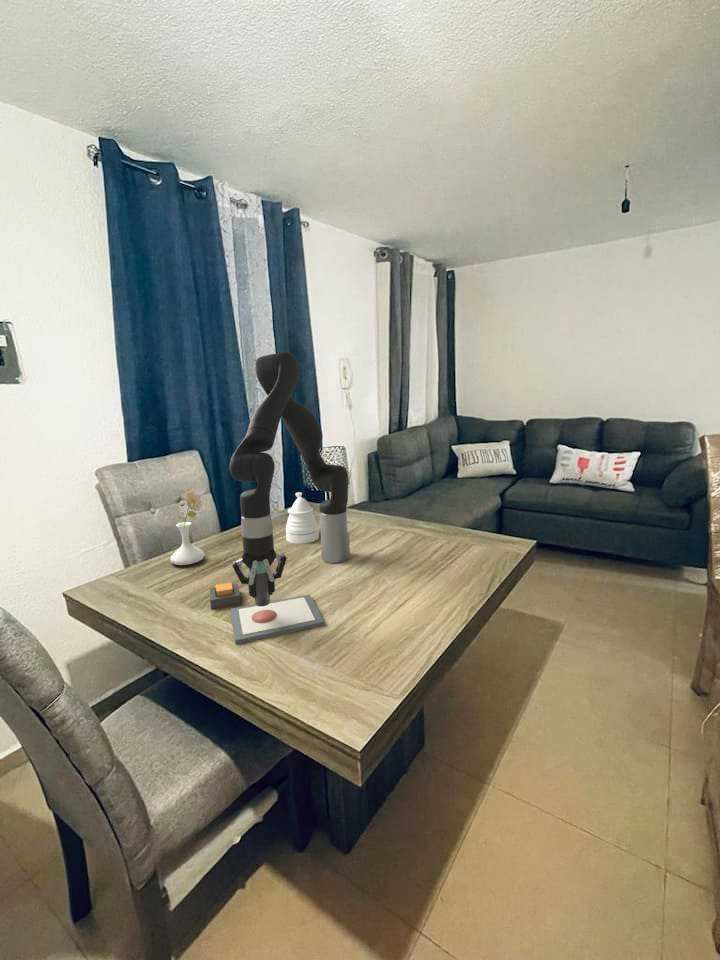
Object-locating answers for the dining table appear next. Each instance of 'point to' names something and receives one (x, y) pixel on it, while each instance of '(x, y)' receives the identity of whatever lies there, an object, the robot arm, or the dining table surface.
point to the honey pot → (301, 522)
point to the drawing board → (275, 618)
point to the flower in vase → (187, 550)
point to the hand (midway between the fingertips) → (262, 594)
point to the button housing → (225, 597)
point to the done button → (224, 589)
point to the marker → (261, 585)
